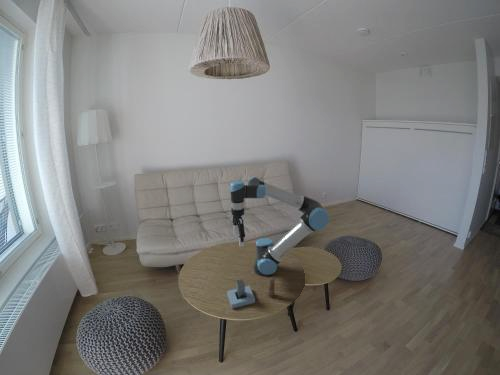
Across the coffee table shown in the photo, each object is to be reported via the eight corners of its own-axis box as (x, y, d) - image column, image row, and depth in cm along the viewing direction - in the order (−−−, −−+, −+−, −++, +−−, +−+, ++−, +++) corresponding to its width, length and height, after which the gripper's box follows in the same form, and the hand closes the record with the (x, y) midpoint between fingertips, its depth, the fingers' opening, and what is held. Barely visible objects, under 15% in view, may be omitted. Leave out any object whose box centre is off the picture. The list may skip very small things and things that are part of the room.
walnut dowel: (272, 293, 145) (273, 276, 141) (275, 297, 142) (275, 280, 138) (267, 294, 144) (267, 278, 140) (269, 298, 141) (269, 282, 137)
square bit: (243, 295, 144) (242, 279, 140) (245, 300, 140) (244, 283, 136) (236, 297, 143) (236, 280, 139) (238, 302, 139) (237, 285, 135)
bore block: (249, 289, 148) (249, 285, 147) (255, 302, 138) (255, 298, 137) (227, 294, 144) (227, 290, 143) (231, 308, 134) (231, 304, 133)
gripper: (226, 200, 147) (228, 231, 154) (236, 217, 125) (238, 252, 131) (238, 199, 149) (239, 229, 156) (250, 215, 127) (250, 250, 133)
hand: (238, 240), depth 144 cm, fingers open, 13 cm apart
